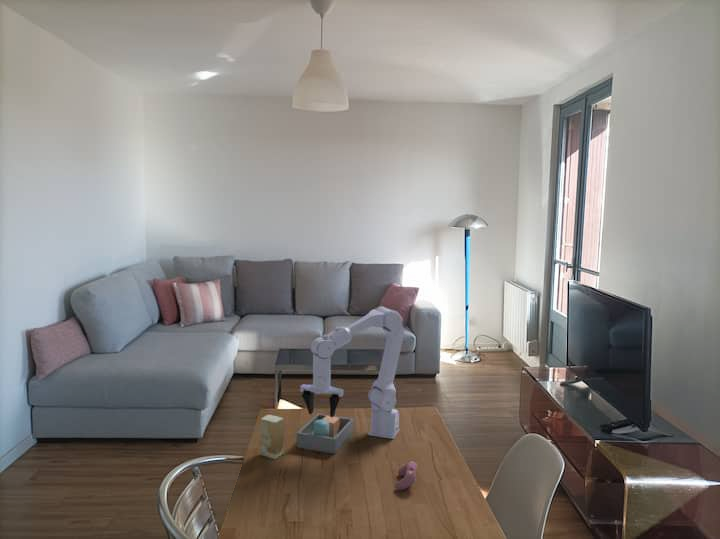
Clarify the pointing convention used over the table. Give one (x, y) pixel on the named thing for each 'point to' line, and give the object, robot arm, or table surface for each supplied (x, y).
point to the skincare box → (272, 436)
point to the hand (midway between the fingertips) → (321, 414)
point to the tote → (323, 443)
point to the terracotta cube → (333, 425)
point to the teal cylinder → (321, 427)
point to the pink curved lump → (406, 475)
